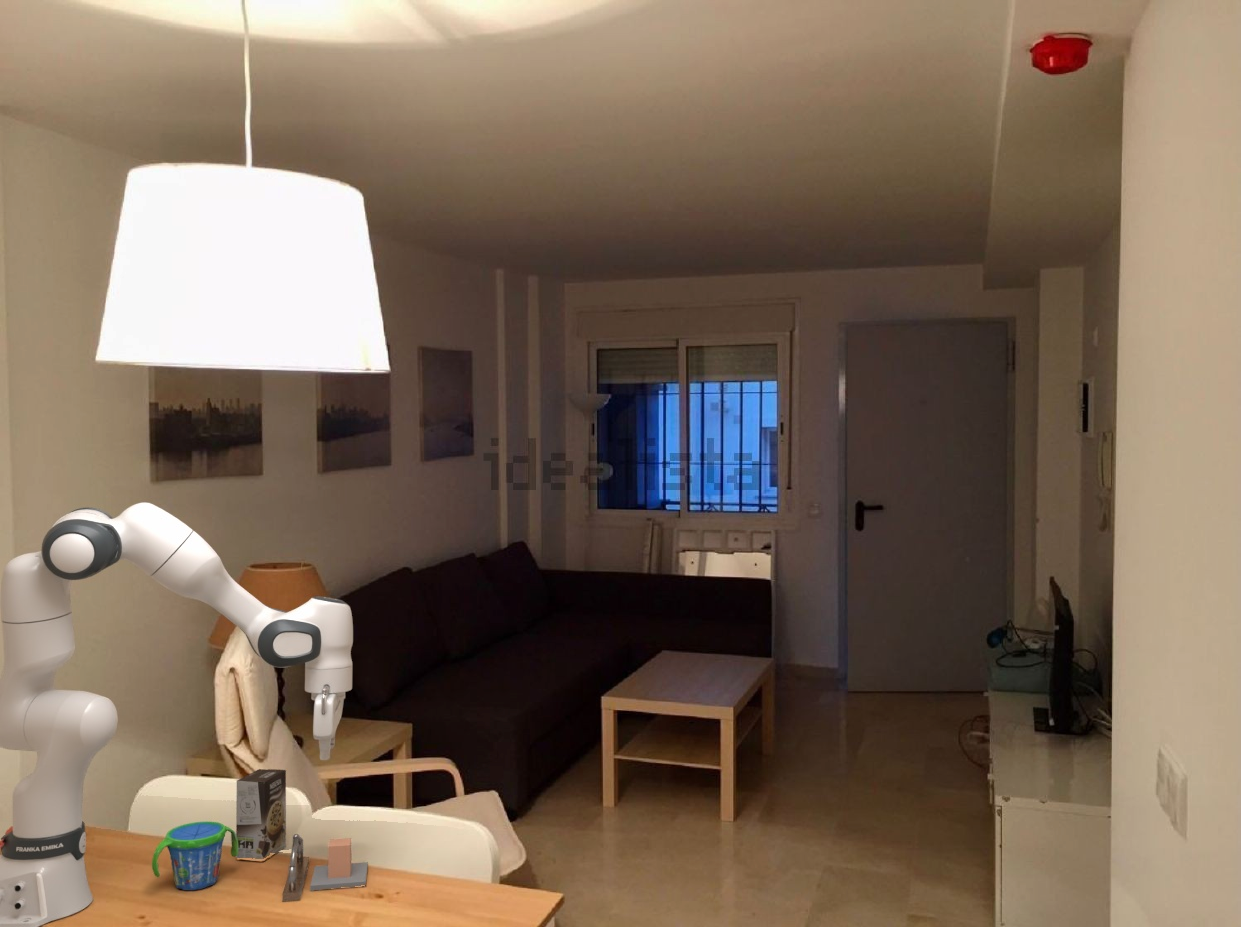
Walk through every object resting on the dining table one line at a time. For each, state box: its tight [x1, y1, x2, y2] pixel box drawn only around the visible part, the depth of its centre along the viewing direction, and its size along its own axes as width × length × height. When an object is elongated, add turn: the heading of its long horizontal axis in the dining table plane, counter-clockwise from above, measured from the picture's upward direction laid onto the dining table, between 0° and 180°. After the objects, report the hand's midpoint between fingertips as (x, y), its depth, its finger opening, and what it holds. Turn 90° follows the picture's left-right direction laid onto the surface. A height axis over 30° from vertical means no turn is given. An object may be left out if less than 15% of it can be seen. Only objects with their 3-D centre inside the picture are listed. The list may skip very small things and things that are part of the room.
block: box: [327, 837, 352, 878], centre depth 204 cm, size 4×4×6 cm
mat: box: [309, 861, 369, 892], centre depth 205 cm, size 10×10×1 cm
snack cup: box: [151, 821, 238, 891], centre depth 202 cm, size 16×10×10 cm
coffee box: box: [235, 768, 287, 859], centre depth 218 cm, size 9×6×16 cm
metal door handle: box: [281, 833, 310, 903], centre depth 203 cm, size 3×18×9 cm, turn 11°
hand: (327, 753), depth 206 cm, fingers open, 8 cm apart
